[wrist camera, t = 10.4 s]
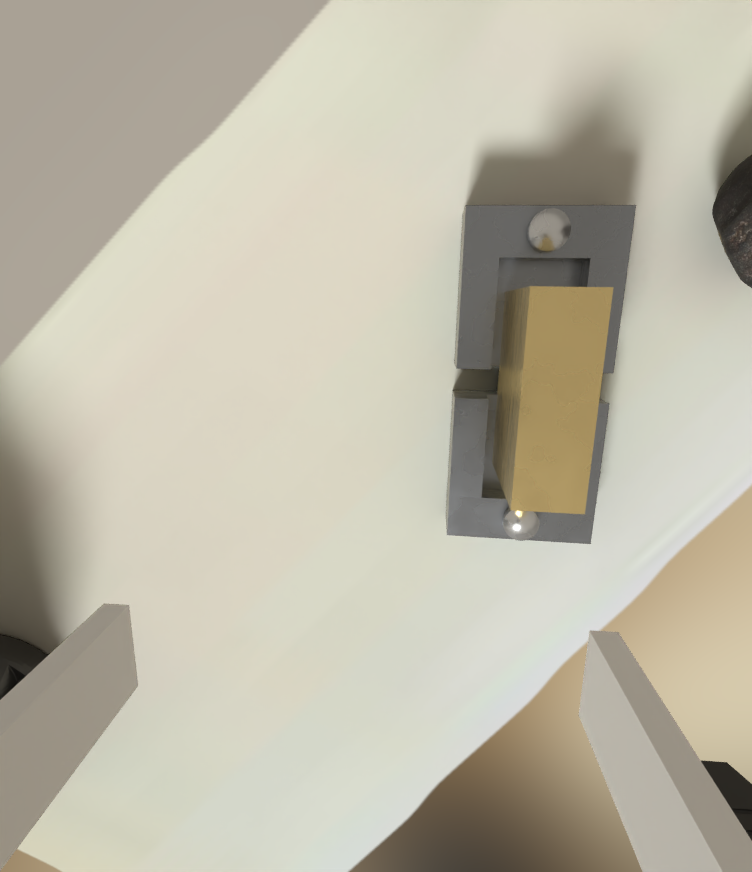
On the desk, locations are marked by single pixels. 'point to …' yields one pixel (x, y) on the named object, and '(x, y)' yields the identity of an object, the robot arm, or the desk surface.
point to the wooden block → (549, 395)
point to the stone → (736, 219)
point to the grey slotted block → (481, 344)
